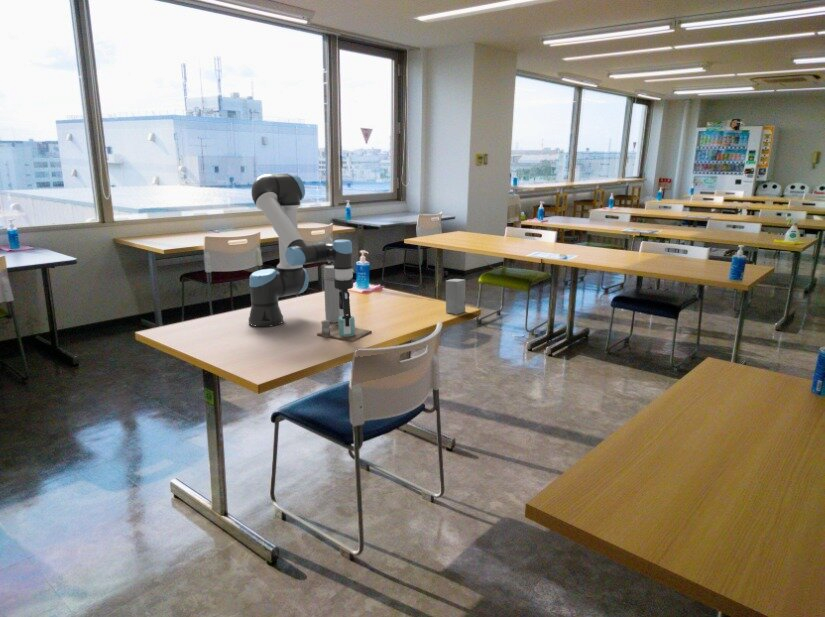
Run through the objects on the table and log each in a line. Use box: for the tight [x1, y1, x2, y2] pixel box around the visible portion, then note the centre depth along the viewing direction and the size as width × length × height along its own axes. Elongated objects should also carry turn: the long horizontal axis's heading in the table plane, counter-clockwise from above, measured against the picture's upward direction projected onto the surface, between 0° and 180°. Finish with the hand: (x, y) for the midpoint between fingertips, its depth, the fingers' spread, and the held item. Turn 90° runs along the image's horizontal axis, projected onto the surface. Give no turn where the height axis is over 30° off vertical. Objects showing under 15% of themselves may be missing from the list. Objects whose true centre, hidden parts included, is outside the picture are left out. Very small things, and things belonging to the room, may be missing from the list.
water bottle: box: [323, 264, 340, 324], centre depth 249 cm, size 9×8×25 cm
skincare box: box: [445, 278, 466, 316], centre depth 264 cm, size 8×7×16 cm
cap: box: [338, 315, 356, 337], centre depth 229 cm, size 6×6×7 cm
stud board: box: [316, 319, 373, 343], centre depth 232 cm, size 18×15×6 cm
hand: (345, 328), depth 230 cm, fingers open, 13 cm apart
